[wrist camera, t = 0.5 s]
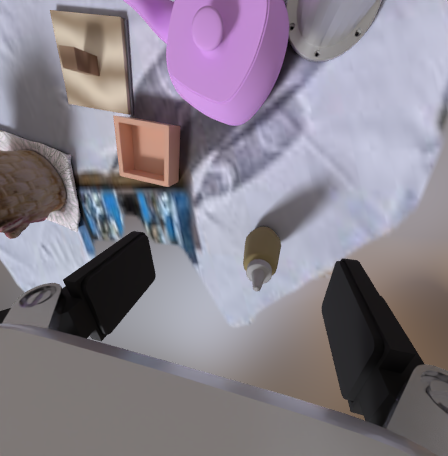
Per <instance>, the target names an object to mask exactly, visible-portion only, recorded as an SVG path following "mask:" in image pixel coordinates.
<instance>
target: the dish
mask: <svg viewBox="0 0 448 456" xmlns="http://www.w3.org/2000/svg"><path fill="white" fill-rule="evenodd" d="M113 117H114V126H115V135H116V144H117V153H118V162H119V171H120V176H123V177H127V178H132V179H136V180H140V181H145V182H149V183H153V184H158V185H162V186H166V187H169V186H171V185H173V184H175V183H177V182H179V154H180V126H177V125H172V124H166V123H161V122H155V121H150V120H144V119H138V118H133V117H124V116H113Z"/></svg>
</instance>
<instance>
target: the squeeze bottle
mask: <svg viewBox="0 0 448 456" xmlns="http://www.w3.org/2000/svg"><path fill="white" fill-rule="evenodd" d="M280 249H281V243H280V239H279V237H278V236H277V234H276V233H275V232H274V231H273V230H272V229H270V228H269V227H265V226H264V227H258V228H256V229H255V230H253V231H252V232H250V234H249V235H248V236H247V238H246V242H245V251H244V261H243V265H244V269H245V270H246V275H247V277H248V278H249V280H250V281H252V283H253V289H254V290H255V291H260V289H261V287H262V284H264V283H267V282H268V281H269V280H270V279H271V276H272V275H273V274H274V273H275V272H276V269H277V265H278V260H279V254H280Z"/></svg>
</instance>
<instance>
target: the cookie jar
mask: <svg viewBox="0 0 448 456" xmlns="http://www.w3.org/2000/svg"><path fill="white" fill-rule="evenodd" d="M80 216H81V215H80V211H79V205H78V198H77V192H76V186H75V181H74V175H73V170H72V165H71V155H70V154H69V155H67V154H64V153H62V152H60V151H58V150H56V149H54V148H51V147H48V146H46V145H44V144H42V143H39V142H33V141H29V140H26V139H24V138H21V137H18V136H16V135H14V134H10V133H8V132H5V131H2V130H0V232H3V233H5V235H6V236H7V237H8V238H10V239H13V238H16V237H18V236H19V235H20V234H21V232H22V231H23V230H25V229H26V228H27V227H28V225H29V224H30V223H33V222H40V221H44V220H45V219H46V220H49V221H51V222H55V223H57V224H59V225H62V226H66V227H68V228H70V229H71V230H73V231H76V232H78V225H79V221H80Z"/></svg>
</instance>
